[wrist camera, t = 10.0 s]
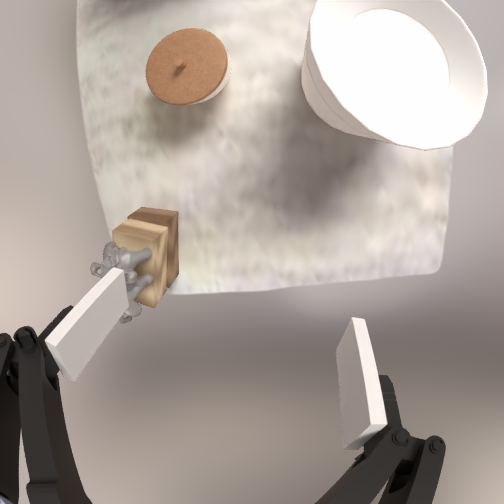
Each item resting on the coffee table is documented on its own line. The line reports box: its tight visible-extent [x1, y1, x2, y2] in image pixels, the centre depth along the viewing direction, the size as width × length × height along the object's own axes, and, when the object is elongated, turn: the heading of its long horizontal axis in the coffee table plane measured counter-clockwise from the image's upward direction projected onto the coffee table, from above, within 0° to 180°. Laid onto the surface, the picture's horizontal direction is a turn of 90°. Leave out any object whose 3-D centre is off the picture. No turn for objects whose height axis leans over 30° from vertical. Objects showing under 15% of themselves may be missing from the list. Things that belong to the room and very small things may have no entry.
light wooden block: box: [112, 218, 168, 308], centre depth 41 cm, size 12×7×5 cm, turn 170°
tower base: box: [128, 207, 179, 288], centre depth 45 cm, size 12×7×5 cm, turn 174°
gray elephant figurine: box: [91, 242, 153, 323], centre depth 35 cm, size 9×12×8 cm
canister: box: [301, 0, 488, 151], centre depth 22 cm, size 16×16×20 cm
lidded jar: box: [146, 28, 231, 105], centre depth 29 cm, size 11×11×9 cm
